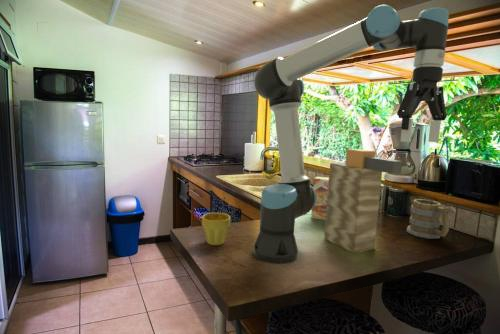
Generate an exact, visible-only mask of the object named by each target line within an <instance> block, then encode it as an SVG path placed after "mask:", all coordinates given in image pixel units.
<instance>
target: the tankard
mask: <svg viewBox="0 0 500 334" xmlns="http://www.w3.org/2000/svg"><path fill="white" fill-rule="evenodd" d="M410 212H411V215H410V217H409V224H410V225H408V226H407V227H406V233H408V234H410V235H412V236H415V237H418V238H424V239H429V240H430V239H431V240H432V239H433V240H434V239H440V238H441V237H446V235H447V234H448V233H449V231H450V225H449V224H450V223H449V213H450V214H451V215H455V214H456V213H457V210H456V209H455V208H454V207H453V206H446V207H442V206H441V202H438V201H435V200H430V199H422V198H420V199H419V198H417V199H413V203H412V204H411V206H410ZM440 217H441V219H440ZM441 223H442V229H441V230H440V227H441Z"/></svg>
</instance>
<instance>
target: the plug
mask: <svg viewBox="0 0 500 334" xmlns="http://www.w3.org/2000/svg"><path fill="white" fill-rule="evenodd" d="M344 163H345V165H346V166H352V167H357V168H365V169H370V170H375V171H380V172H382V173H386V174H392V175H396V174H397V175H398V174H402V167H403V166H402V165H403V161H402V160H396V159H391V158H382V157H378V156H377V157H376V151H375V150H368V149H361V148H346V152H345V162H344Z"/></svg>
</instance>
